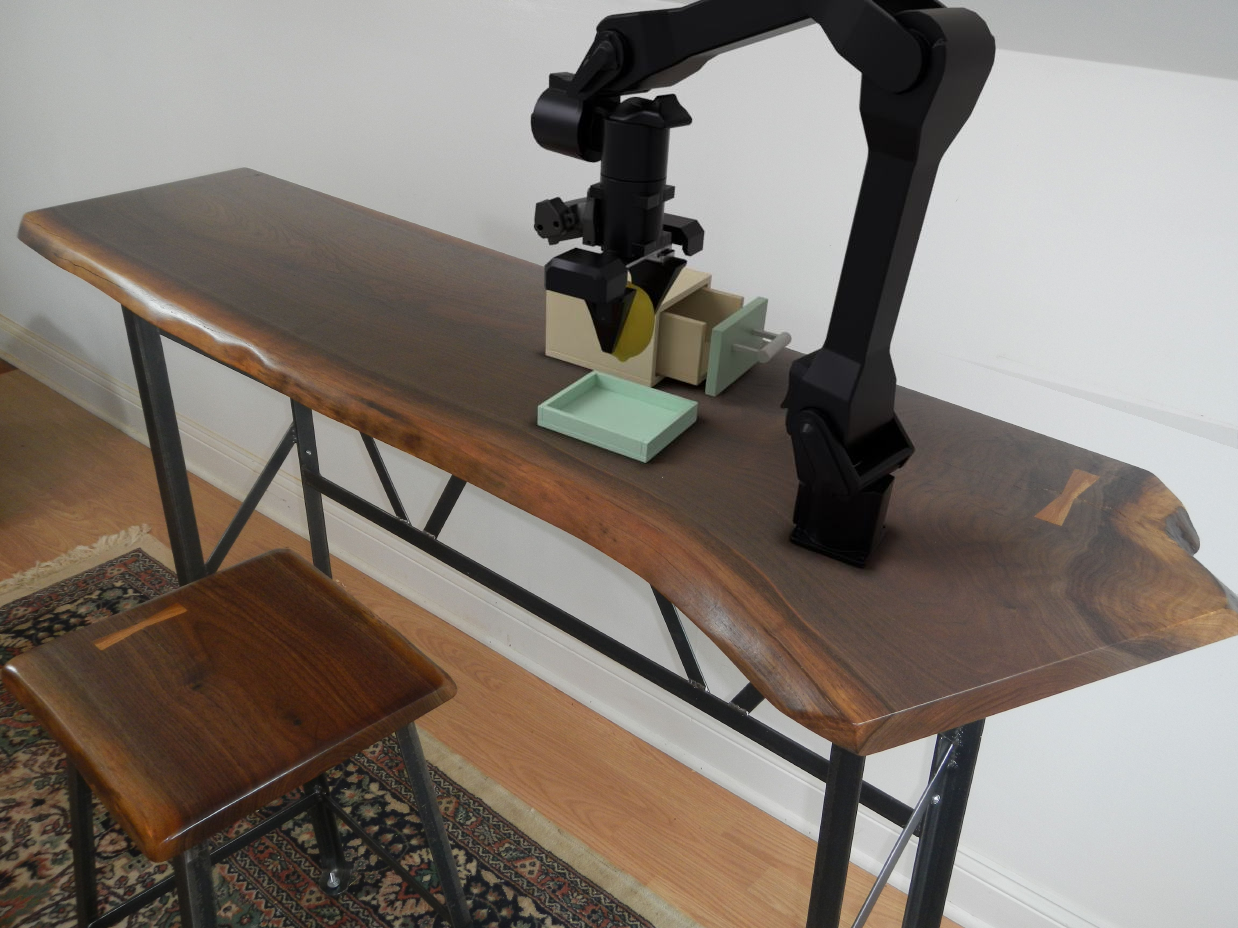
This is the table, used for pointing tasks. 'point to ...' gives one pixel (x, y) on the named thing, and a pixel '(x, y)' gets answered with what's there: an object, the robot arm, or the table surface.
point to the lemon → (636, 327)
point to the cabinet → (578, 341)
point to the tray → (618, 415)
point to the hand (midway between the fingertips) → (624, 342)
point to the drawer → (714, 338)
